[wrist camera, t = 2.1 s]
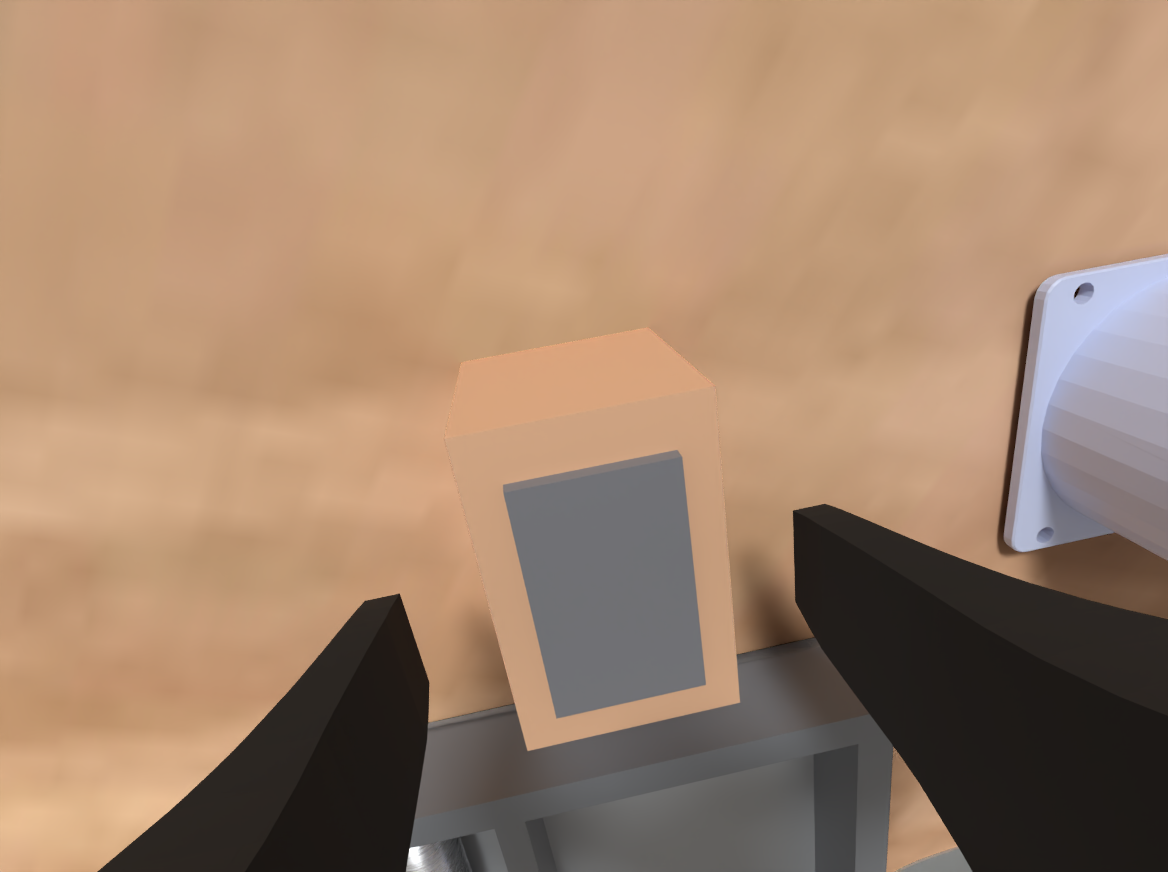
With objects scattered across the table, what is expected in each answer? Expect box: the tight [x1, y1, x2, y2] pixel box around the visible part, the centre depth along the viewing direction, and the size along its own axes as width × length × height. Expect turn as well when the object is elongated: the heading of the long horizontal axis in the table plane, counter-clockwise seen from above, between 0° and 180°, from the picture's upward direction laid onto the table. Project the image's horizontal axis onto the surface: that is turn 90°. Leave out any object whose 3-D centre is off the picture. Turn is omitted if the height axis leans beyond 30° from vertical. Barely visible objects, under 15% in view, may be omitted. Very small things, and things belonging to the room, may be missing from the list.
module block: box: [444, 327, 740, 751], centre depth 13 cm, size 4×7×5 cm, turn 9°
